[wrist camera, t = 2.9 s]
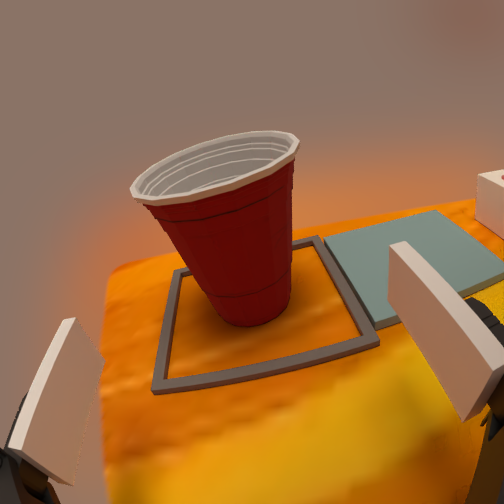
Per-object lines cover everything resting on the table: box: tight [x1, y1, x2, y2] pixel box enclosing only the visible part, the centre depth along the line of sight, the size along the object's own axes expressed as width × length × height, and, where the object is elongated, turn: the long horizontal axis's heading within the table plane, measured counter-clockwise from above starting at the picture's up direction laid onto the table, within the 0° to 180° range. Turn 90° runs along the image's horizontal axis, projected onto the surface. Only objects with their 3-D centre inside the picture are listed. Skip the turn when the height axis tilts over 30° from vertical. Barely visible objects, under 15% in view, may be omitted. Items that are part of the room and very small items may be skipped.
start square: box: [151, 235, 380, 395], centre depth 24 cm, size 15×15×1 cm
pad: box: [324, 210, 504, 330], centre depth 23 cm, size 13×12×1 cm
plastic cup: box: [130, 131, 300, 327], centre depth 21 cm, size 11×11×12 cm
